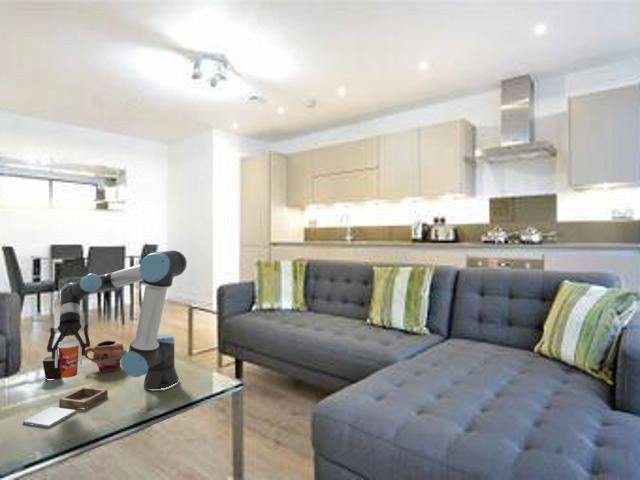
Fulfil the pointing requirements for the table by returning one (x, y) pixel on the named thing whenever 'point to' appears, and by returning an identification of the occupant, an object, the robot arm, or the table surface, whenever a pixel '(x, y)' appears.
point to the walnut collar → (94, 392)
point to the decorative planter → (107, 355)
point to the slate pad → (49, 417)
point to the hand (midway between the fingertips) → (68, 364)
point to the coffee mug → (51, 368)
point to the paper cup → (68, 357)
